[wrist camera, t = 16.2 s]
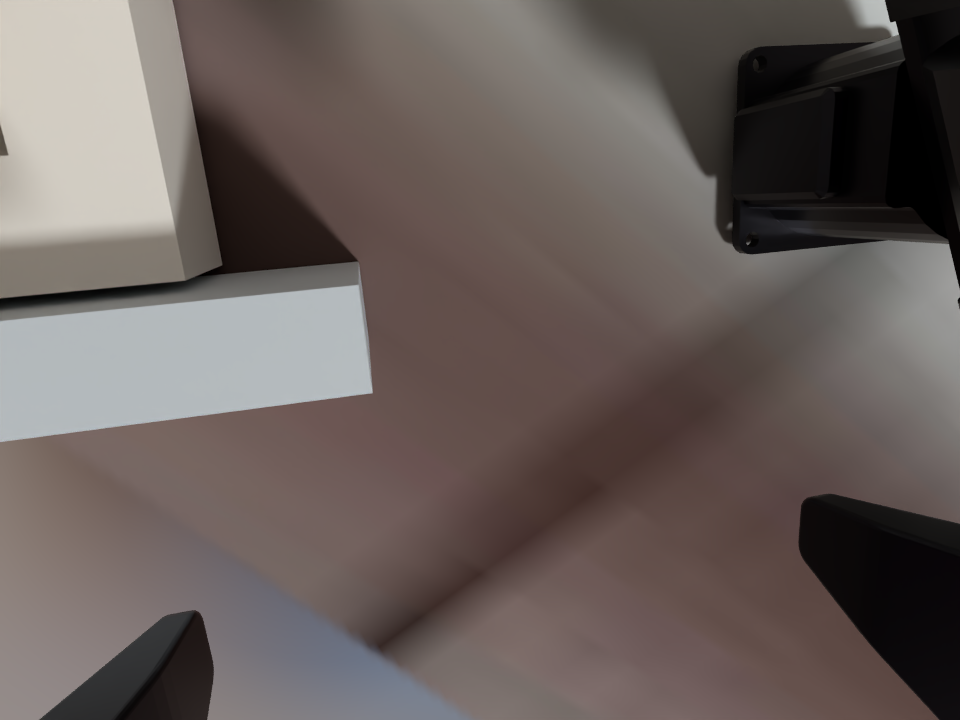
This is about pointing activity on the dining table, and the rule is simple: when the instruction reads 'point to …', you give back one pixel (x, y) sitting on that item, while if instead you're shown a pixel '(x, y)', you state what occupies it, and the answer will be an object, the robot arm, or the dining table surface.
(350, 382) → the board
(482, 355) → the dining table surface
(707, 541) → the dining table surface
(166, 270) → the socket block
